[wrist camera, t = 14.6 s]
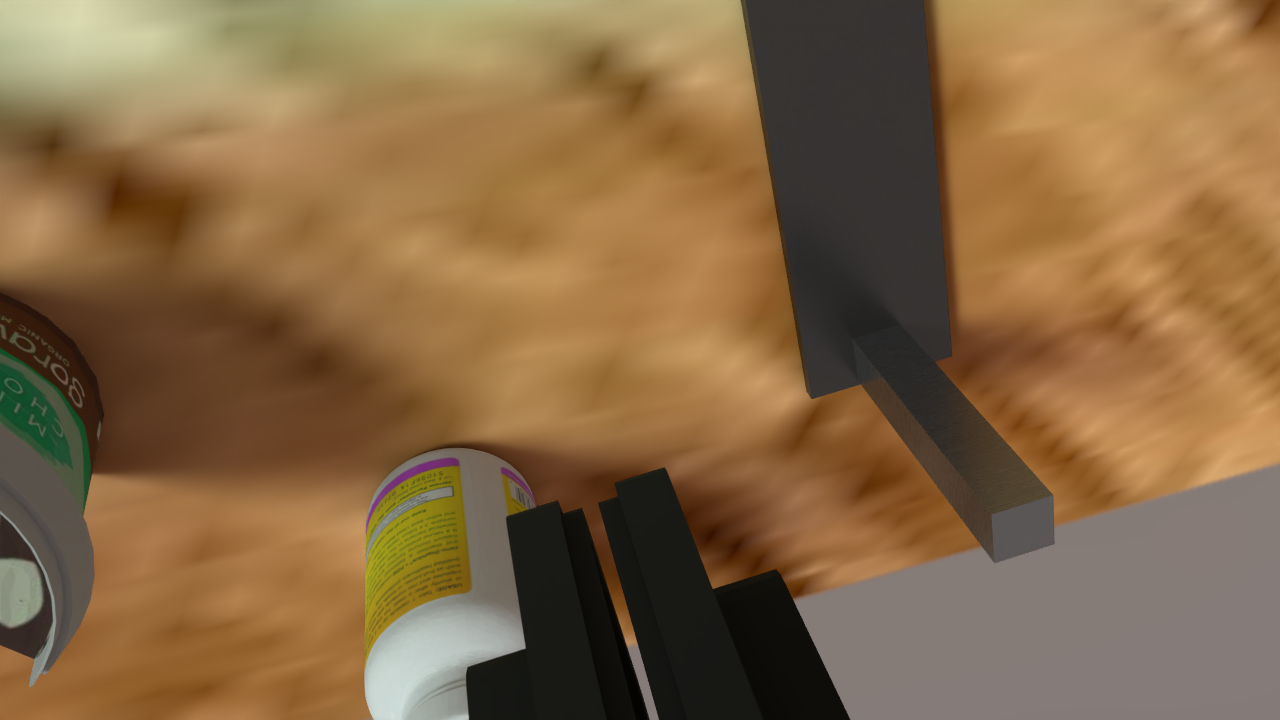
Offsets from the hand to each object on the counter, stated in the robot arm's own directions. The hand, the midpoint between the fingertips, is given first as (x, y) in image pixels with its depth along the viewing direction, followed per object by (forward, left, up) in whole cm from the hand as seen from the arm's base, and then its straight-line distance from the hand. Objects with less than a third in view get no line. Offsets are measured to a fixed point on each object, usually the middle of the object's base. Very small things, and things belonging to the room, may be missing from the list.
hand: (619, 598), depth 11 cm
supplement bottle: (+18, -6, -27) cm, 33 cm away
